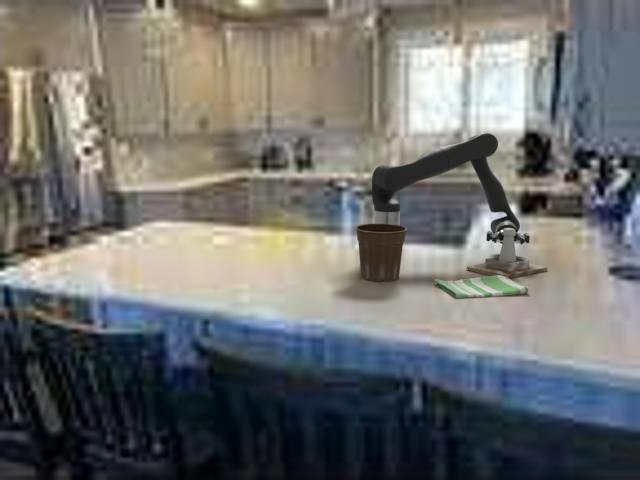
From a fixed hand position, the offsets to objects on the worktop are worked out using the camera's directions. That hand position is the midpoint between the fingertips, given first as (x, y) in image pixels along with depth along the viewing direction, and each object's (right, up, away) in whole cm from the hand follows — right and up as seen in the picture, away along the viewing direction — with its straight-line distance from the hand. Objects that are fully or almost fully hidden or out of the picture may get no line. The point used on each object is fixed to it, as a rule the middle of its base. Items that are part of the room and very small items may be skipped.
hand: (508, 240), depth 235 cm
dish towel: (-15, -15, -25) cm, 33 cm away
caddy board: (0, -10, +1) cm, 10 cm away
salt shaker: (0, -9, +1) cm, 9 cm away
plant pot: (-44, -12, -12) cm, 47 cm away
